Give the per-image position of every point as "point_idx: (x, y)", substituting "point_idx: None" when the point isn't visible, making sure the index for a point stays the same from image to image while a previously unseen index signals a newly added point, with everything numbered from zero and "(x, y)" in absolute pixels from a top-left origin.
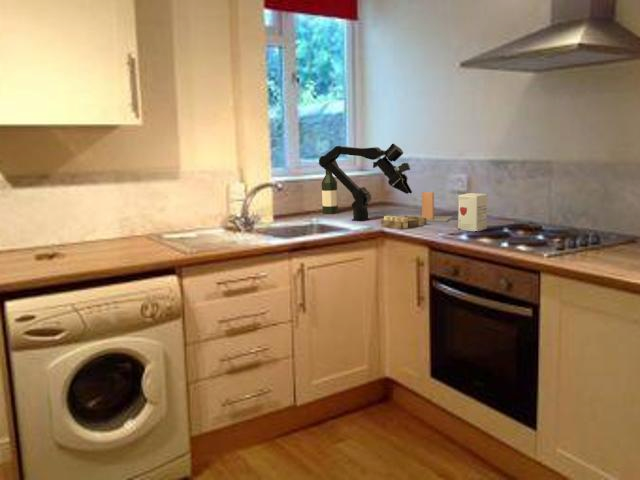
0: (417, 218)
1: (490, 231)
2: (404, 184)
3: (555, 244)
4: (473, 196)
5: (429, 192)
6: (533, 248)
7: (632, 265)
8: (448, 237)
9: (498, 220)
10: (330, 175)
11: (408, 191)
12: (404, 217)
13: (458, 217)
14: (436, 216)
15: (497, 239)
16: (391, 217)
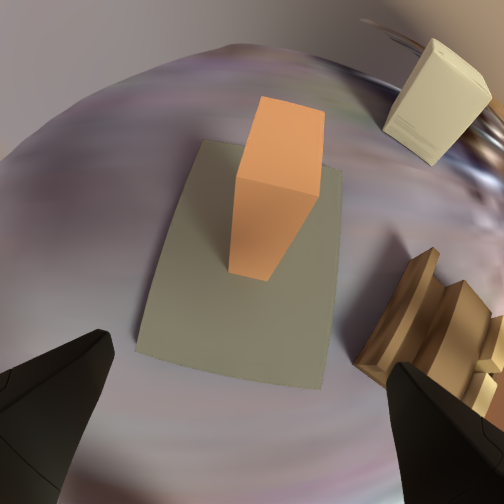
0: (423, 291)
1: None
2: (14, 458)
3: None
4: (483, 79)
5: (274, 124)
6: (493, 124)
7: (496, 99)
8: (500, 209)
9: (248, 58)
10: None
11: (99, 383)
12: (500, 330)
13: (452, 143)
14: (194, 202)
15: (476, 135)
16: (495, 388)
